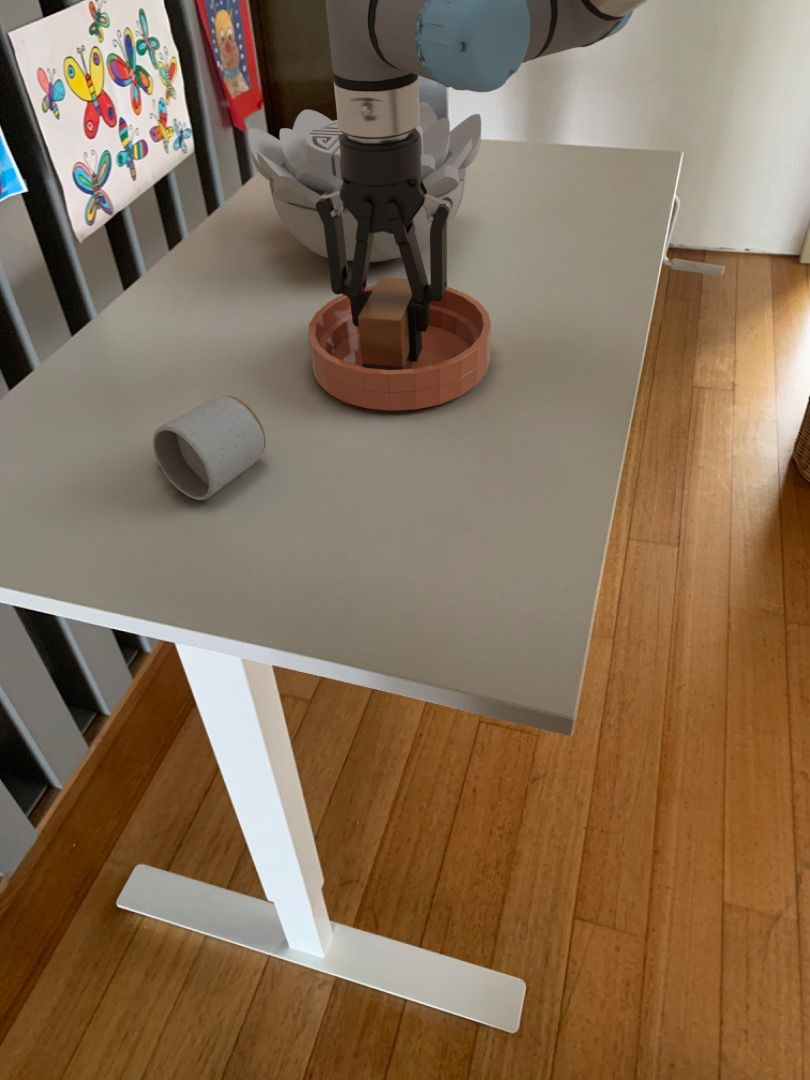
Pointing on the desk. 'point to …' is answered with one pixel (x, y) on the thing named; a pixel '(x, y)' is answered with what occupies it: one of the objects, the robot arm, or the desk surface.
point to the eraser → (386, 326)
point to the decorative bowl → (315, 168)
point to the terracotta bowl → (438, 375)
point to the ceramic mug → (209, 446)
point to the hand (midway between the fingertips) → (393, 352)
